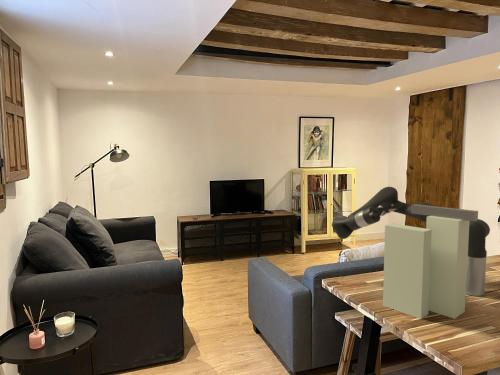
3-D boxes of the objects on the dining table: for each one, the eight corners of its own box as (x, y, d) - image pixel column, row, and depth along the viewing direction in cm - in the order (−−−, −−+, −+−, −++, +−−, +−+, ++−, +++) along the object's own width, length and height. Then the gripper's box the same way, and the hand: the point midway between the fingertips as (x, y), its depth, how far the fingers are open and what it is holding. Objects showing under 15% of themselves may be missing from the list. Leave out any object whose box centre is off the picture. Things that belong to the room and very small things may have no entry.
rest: (390, 302, 157) (392, 223, 153) (428, 314, 144) (431, 229, 141) (382, 305, 153) (385, 225, 150) (420, 319, 140) (424, 231, 137)
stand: (434, 302, 156) (438, 213, 152) (465, 311, 147) (469, 217, 143) (423, 308, 150) (426, 216, 146) (454, 318, 141) (458, 220, 137)
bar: (415, 212, 157) (415, 204, 156) (477, 220, 138) (478, 210, 138) (411, 213, 154) (411, 205, 154) (474, 221, 136) (474, 211, 136)
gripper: (355, 211, 168) (384, 198, 157) (372, 208, 177) (401, 195, 165) (361, 226, 166) (391, 214, 155) (378, 222, 175) (408, 210, 163)
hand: (396, 204), depth 160 cm, fingers open, 8 cm apart
